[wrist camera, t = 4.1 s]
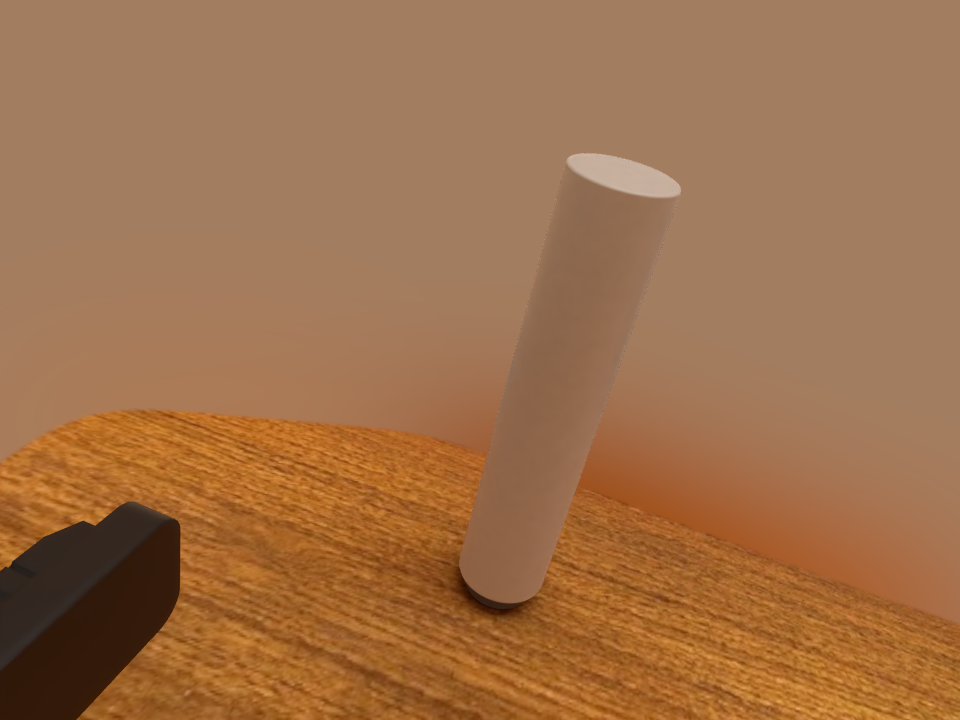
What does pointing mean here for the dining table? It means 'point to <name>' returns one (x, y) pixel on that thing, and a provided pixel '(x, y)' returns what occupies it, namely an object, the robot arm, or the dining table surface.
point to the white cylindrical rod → (564, 368)
